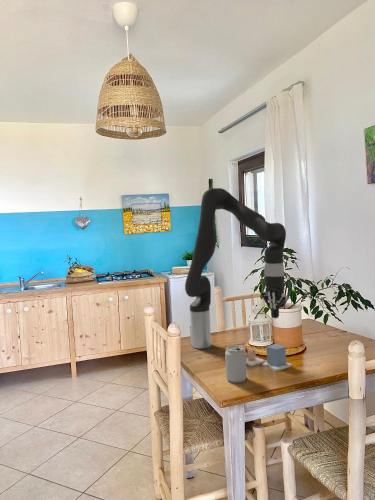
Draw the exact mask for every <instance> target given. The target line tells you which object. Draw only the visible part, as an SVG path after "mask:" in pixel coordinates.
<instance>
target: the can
mask: <svg viewBox="0 0 375 500" xmlns="http://www.w3.org/2000/svg"><path fill="white" fill-rule="evenodd" d="M224 354H225V355H224V357H225V374H226V375H225V377H226V379H227V380H228V381H229V382H230V383H233V384H234V383H236V384H237V383H238V384H239V383H240V384H241V383H243V382H245V380H246V379H247V378H248V377H247V375H248V374H247V364H246V357H247V356H246V351H245V350H244V347H243V346H241V345H230V346H228V347H226V350H225V352H224Z"/></svg>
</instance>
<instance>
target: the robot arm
mask: <svg viewBox="0 0 375 500" xmlns="http://www.w3.org/2000/svg"><path fill="white" fill-rule="evenodd" d="M216 210H217V211H218V210H223V211H227V212H229V213H231V214H232V215H234V216H235V218H236V219H237V221H239V223H240V224H241V225H243V226H245V227H246V228H248V229H249V230H251V231H253V232H254V233H255V234H256V236H258V237H259V238H260V239H262V240H263V241H265V242H268V243H269V245H268V247H266V248H265V250H264V269H263V270H264V271H263V272H264V273H263V274H264V286H265V290H264V292H261V293H260V295H261V297H262V299H263V301H264V303H265V304H266V306H267V307H269V308H270V315H271V318H273V319H279V317H280V309H281V308H284V306H285V305H286V304H287V302H288V301H289V299H290V297H289V295H286V294H285V290H284V287H285V267H284V249H285V244H286V240H287V232H286V227H285V226H284V225H283V224H282V223H281V222H273V223H270V222H268V221H266V218H265V216H263V215H262V214H260V213H259V212H257V211H255V210H253V209H251V208H250V207H248V206H246V205H245V204H243V203H242V202H241V201H240V200H238V199H237V198H236V197H234V196H233V195H232V194H231V193H230V192H228V191H227V190H226V189H225V188H220V187H214V188H212V187H211V188H210V187H209V188H206V190H204V192H203V193H202V197H201V205H200V215H199V223H198V227H197V233H196V237H195V241H194V247H193V248H194V249H193V254H192V258H191V263H190V266H189V270H188V273H187V276H186V279H185V284H184V285H185V286H184V290H185V293H186V295H187V296H188V297H190V298H195V300H194V301H192V303H190V305H189V318H190V325H189V333H190V335H189V336H190V338H189V339H190V346H191V347H192V348H194V349H202V350H203V349H207V348H210V347H211V346H212V334H211V333H212V332H211V315H210V314H211V313H210V307H211V302H212V301H211V300H212V299H211V295H212V290H211V289H212V287H211V281H210V279H209V278H208V277H207V276H206V275H203V271H204V269H205V267H206V266H207V264H208V263H209V261H210V260H211V259H212V257H213V256H214V253H215V251H216V245H217V239H218V237H217V233H216V230H215V226H214V225H215V224H214V220H215V219H214V218H215V212H216Z"/></svg>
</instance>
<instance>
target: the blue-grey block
mask: <svg viewBox="0 0 375 500" xmlns="http://www.w3.org/2000/svg"><path fill="white" fill-rule="evenodd" d="M286 349H287V347H286V346H284V345H282V344H277V343H274V344H271V345H268V346H266V362H267V363H268V364H271V365H273V366H276V367H278V366H281V365H283V364H286V362H287V351H286Z"/></svg>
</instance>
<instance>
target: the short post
mask: <svg viewBox="0 0 375 500" xmlns="http://www.w3.org/2000/svg"><path fill="white" fill-rule="evenodd" d="M263 363H265V359H263V358H260V357H257V356H256V350H255V349H254V348H249V349H247V356H246V365H249V366H250V367H253V366H256V365H259V364H263Z"/></svg>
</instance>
